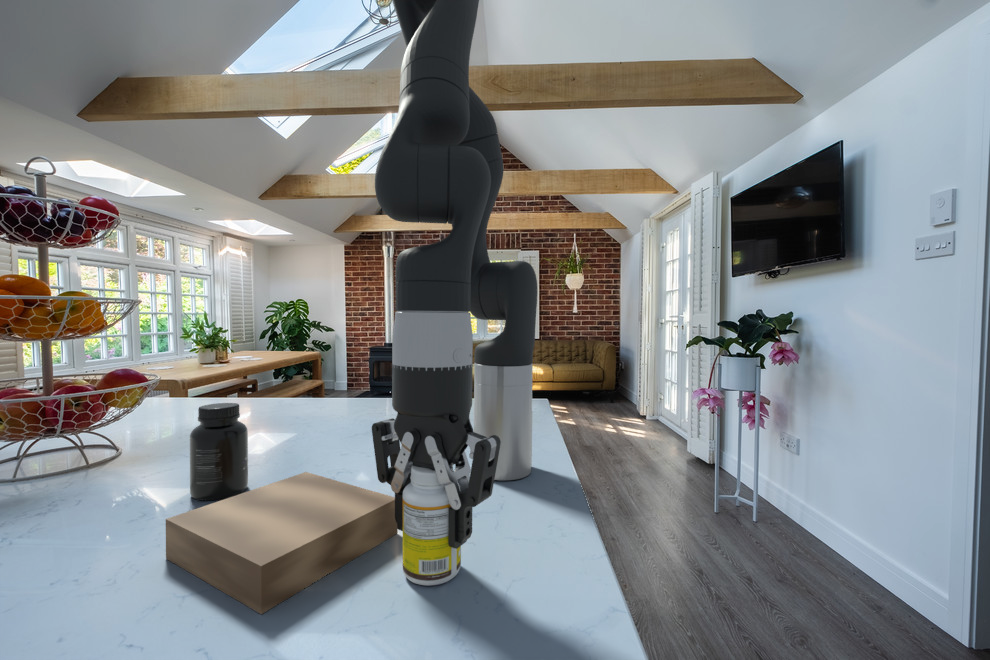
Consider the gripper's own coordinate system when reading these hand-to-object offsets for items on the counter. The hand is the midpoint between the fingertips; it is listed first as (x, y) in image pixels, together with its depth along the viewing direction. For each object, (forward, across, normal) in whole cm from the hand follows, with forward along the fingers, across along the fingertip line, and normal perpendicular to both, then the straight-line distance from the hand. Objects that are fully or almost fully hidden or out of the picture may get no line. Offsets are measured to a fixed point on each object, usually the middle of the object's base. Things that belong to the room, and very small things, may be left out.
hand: (431, 535), depth 42 cm
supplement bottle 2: (+4, 0, 0) cm, 4 cm away
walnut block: (+4, +16, +4) cm, 17 cm away
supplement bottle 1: (+4, +37, 0) cm, 37 cm away
